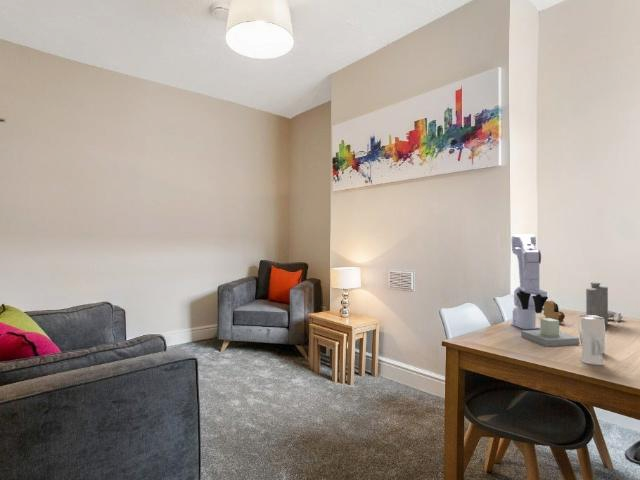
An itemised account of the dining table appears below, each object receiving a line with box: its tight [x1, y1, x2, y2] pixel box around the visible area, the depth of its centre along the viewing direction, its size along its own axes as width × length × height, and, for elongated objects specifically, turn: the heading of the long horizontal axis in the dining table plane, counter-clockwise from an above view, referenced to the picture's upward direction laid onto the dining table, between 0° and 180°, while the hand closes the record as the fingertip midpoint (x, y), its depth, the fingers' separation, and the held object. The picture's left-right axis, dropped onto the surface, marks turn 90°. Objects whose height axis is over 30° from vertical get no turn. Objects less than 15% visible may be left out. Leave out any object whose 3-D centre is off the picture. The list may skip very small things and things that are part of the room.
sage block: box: [539, 317, 560, 336], centre depth 146 cm, size 4×4×6 cm
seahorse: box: [583, 309, 624, 323], centre depth 178 cm, size 5×12×20 cm
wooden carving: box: [542, 300, 566, 323], centre depth 178 cm, size 16×5×10 cm, turn 179°
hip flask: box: [585, 281, 609, 326], centre depth 169 cm, size 16×4×20 cm, turn 121°
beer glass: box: [578, 314, 606, 366], centre depth 121 cm, size 7×7×15 cm
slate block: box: [520, 329, 580, 347], centre depth 146 cm, size 14×14×3 cm
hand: (531, 311), depth 153 cm, fingers open, 7 cm apart
